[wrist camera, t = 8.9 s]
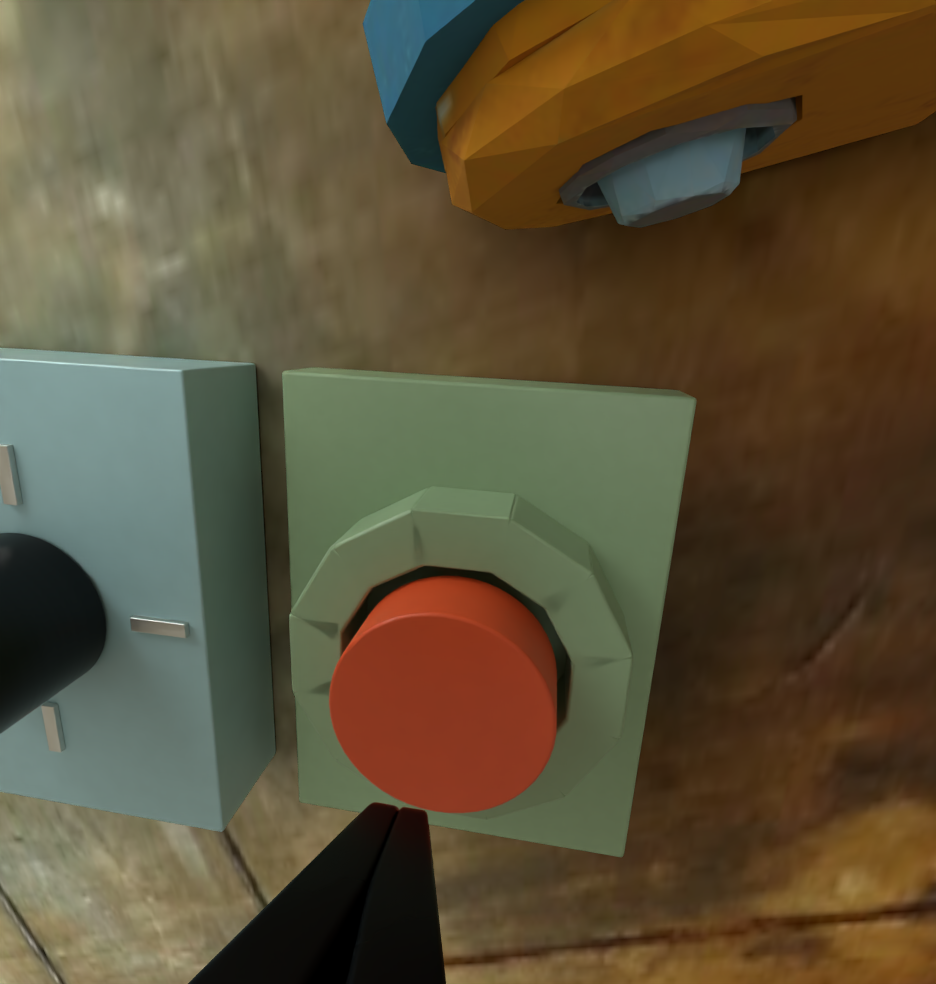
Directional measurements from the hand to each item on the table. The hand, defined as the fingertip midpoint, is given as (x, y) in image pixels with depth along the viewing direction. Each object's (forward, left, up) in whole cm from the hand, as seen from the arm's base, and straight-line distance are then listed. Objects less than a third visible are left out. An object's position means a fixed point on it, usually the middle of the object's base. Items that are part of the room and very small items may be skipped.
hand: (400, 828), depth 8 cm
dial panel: (-10, 0, -7) cm, 13 cm away
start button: (0, 0, -4) cm, 4 cm away
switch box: (0, 0, -7) cm, 7 cm away
